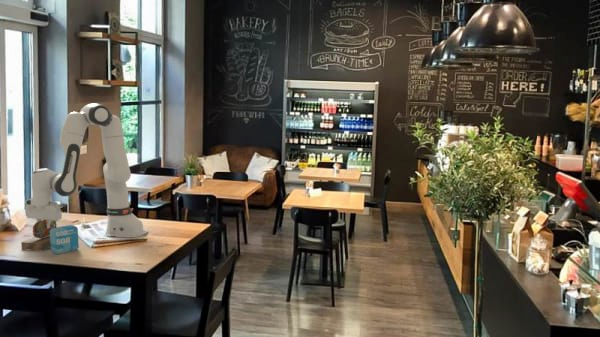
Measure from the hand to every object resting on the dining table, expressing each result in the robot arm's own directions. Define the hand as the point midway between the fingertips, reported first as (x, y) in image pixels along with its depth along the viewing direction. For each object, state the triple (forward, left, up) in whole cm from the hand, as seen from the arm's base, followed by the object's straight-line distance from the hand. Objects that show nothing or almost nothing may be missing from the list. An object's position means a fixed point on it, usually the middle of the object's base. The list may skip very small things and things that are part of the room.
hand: (44, 227), depth 304 cm
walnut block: (0, 0, -9) cm, 9 cm away
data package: (-18, +6, -9) cm, 21 cm away
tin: (+1, 0, -4) cm, 4 cm away
